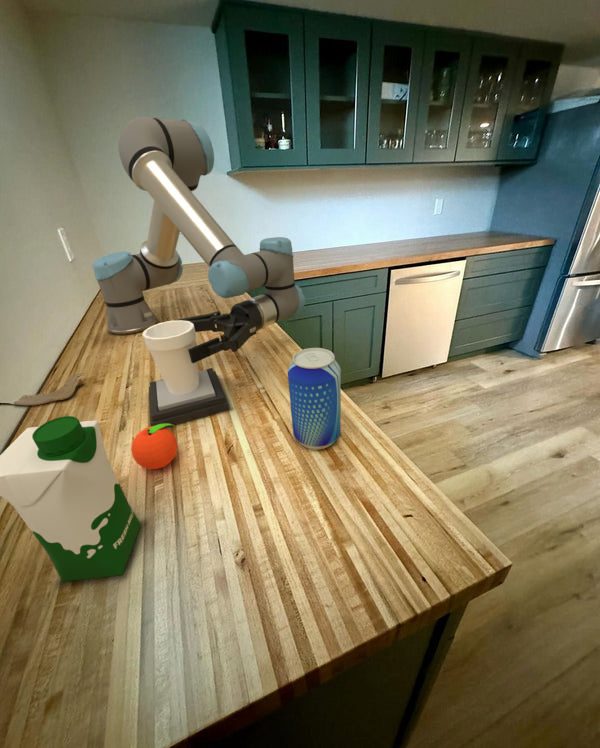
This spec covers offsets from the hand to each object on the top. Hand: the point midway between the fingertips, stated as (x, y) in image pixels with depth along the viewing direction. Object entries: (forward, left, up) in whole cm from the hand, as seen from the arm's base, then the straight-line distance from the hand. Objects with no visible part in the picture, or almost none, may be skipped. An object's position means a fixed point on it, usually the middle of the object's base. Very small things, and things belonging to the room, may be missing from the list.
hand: (171, 347), depth 66 cm
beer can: (+23, +20, -13) cm, 33 cm away
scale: (0, 0, -13) cm, 13 cm away
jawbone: (-21, -31, -13) cm, 40 cm away
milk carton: (+31, -14, -13) cm, 36 cm away
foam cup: (0, 0, -9) cm, 9 cm away
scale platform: (0, 0, -11) cm, 11 cm away
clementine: (+17, -6, -13) cm, 22 cm away
